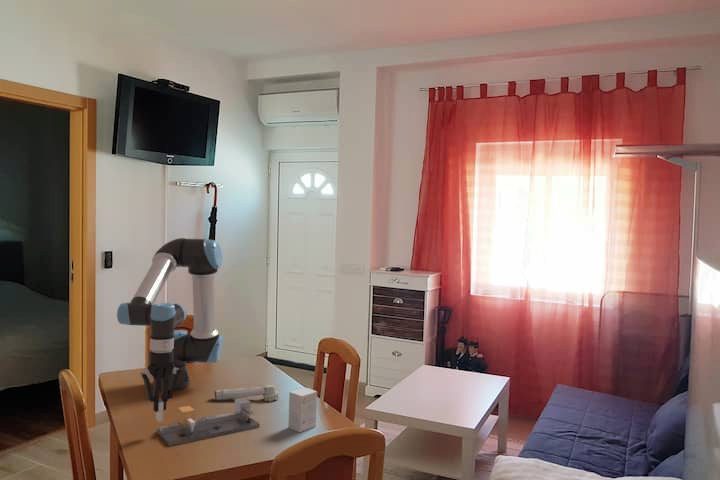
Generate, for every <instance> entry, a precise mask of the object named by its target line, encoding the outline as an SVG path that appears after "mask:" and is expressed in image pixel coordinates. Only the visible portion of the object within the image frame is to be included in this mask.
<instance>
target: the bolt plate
mask: <svg viewBox="0 0 720 480" xmlns="http://www.w3.org/2000/svg"><path fill="white" fill-rule="evenodd" d="M251 403H252V402H251V401H250V400H249V399H247V397H242V398H235V399H234V411H233V412H227V413H221V414H216V415H211V416H205V417H201V418H194V421H195V426H194V432H191V426H190V425H189V424H186V425H182V424H181V423H180V422H179V421H178V422H174V423H168V424H164V425H159V428H156V429H155V433H156V434H157V435H158V436H159V437H160V438H161V440H162V441H163V442H164V443H165V444H166V445H167V446H168V447H173V446H177V445H178V446H179V445H184V444H188V443H192V442H196V441H201V440H206V439H211V438H215V437H220V436H225V435H229V434H235V433H238V432H243V431H248V430H253V429H257V428H260V427H261V426H260V423H259V422H258V421H257V420H255V419H253V417H252V415H254V413H253V410H252V409H251V408H252V407H251V406H252V405H251Z"/></svg>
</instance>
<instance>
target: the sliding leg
mask: <svg viewBox="0 0 720 480" xmlns="http://www.w3.org/2000/svg"><path fill="white" fill-rule="evenodd" d="M195 411H196V410H195V409H194V408H193V407H191V406H190V405H187V406H179V407H177V421H178V422H180V423H181V424H182V425H186V424H189V425H190V426H191V432H194V426H195V421H194V419H195V414H196V413H195Z"/></svg>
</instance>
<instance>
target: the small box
mask: <svg viewBox="0 0 720 480" xmlns="http://www.w3.org/2000/svg"><path fill="white" fill-rule="evenodd" d="M288 401H289V402H288V426H287V427H288V429H289V430H290V429H291V430H293V431H295V432H298V433H302V432H305V431H308V430H310V429H312V428H315V427H317V410H318V409H317V406H318V402H317V401H318V391H317V390H314V389H312V388H309V387H302V388H299V389H296V390H295V389H294V390H292V391H289V397H288Z"/></svg>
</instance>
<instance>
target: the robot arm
mask: <svg viewBox="0 0 720 480" xmlns="http://www.w3.org/2000/svg"><path fill="white" fill-rule="evenodd" d="M151 263H152V264H151V265H150V267H149V268H148V271H147V272H146V275H145V276H144V278H143V279H142V281H141V283H140V285H139V287H138V288H137V290H136V292H135V293H134V295H133V297H132V298H131V300H130V302H122V303H120V304H119V306H118V308H117V311H116V318H117V321H118V323H119V324H121V325H127V326H146V327H148V326H149V327H150V332H149V333H150V335H149V350H150V351H149V356H148V357H149V361H148V362H149V363H148V366H147V369H146V370H145V371H143V372H140V377H141V378H142V380H143V383H144V388H145V392H146V396H147V400H148V401H150V402H151V403H153V404H152V405H153V408H152V409H153V411H154V413H155V420H156V421H157V422H158V423H161V422H164V411H166V410H167V402H169V401H168V400H169V399H173V396H174V392H175V391H176V390H178V391H179V390H183V389H185V388H187V387H189V386H190V384H191V378H190V375H189V371H188V367H187V363H204V364H215V363H217V362H218V361H219V359H221V358H220V357H221V354H222V351H223V346H224V336H223V335H220V332H219V329H218V328H217V327H216V325H215V324H216V322H215V321H216V316H215V313H216V312H215V274H217V273H218V270H219V269H220V268H221V267H222V263H223V254H222V248H221V245H220V243H219V242H218V241H217V240H216V239H215V240H214V239H208V238H183V237H182V238H176V239H173V240H170V241H167V242H166V243H164V244H163V245H162V246H161V247H160V248H159V249H158V250H157V251H156V252H155V253H154V254H153V257H152V258H151ZM176 268H187V269H188V270H187V271H188V274H189V275H190V276H192V278H191V280H192V305H193V306H192V307H193V313H192V314H193V329H192V330H191V331H190V333H189V332H188V330H187V329H175V328H176V327H178V326H180V325H181V324H182V323H183V322H184V321H185V320H186V319H187V316H188V315H187V309H186V307H185V306H183V305H182V304H181V303H171V302H158V303H156V301H157V299H158V297H159V295H160V294H161V291H162V290H163V288H164V285H165V284H166V282H167V280H168V278H169V276H170V274H171V273H172V272H174V271H175V270H176ZM150 375H151V376H152V377H153V379H152V384H151V382H150V379H149V378H150ZM151 385H152V386H151ZM152 387H153V389H152ZM152 390H153V391H152ZM160 396H161V397H160Z"/></svg>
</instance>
